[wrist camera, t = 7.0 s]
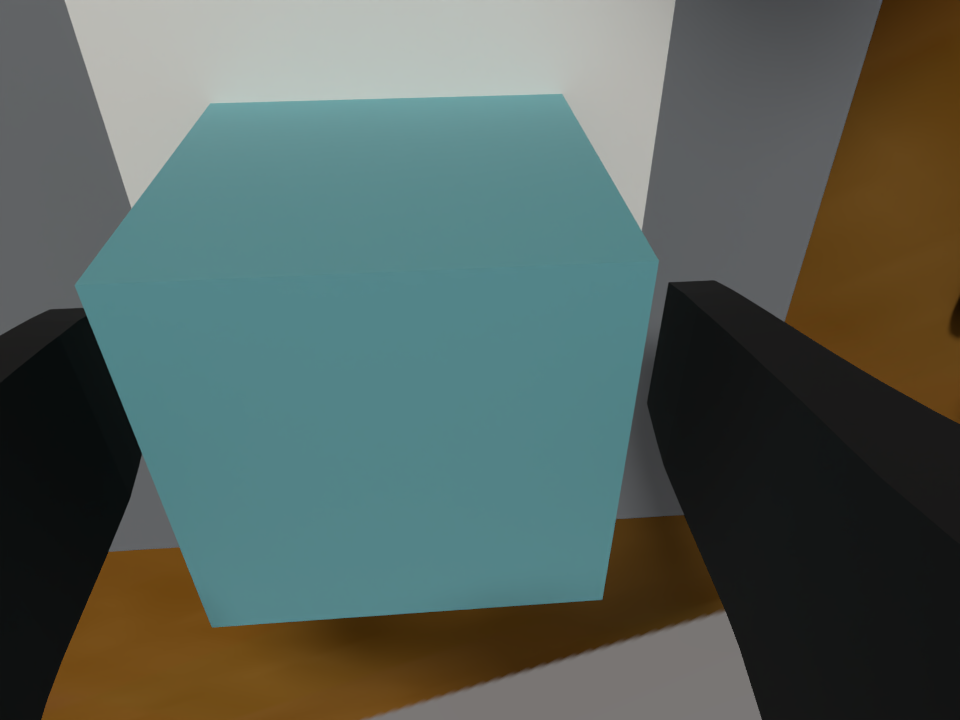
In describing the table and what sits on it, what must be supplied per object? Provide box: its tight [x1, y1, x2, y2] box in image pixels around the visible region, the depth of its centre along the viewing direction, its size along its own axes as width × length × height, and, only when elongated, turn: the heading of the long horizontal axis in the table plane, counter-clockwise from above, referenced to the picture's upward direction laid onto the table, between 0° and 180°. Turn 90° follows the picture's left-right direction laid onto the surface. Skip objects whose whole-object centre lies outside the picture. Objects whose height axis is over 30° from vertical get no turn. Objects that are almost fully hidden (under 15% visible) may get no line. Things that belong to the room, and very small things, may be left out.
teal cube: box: [75, 94, 659, 627], centre depth 10 cm, size 5×5×5 cm
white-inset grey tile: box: [0, 0, 882, 552], centre depth 13 cm, size 14×14×3 cm
